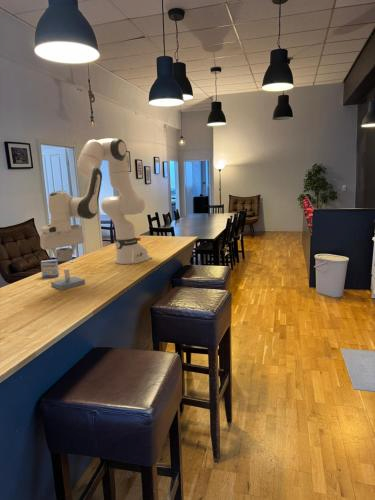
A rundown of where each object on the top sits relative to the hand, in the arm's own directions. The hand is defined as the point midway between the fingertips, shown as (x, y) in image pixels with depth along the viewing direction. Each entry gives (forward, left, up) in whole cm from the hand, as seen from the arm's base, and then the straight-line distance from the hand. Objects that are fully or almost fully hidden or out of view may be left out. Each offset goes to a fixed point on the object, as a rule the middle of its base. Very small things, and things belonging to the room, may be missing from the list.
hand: (64, 255), depth 164 cm
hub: (0, 0, -2) cm, 2 cm away
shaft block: (0, 0, -14) cm, 14 cm away
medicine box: (-2, -22, -15) cm, 27 cm away
